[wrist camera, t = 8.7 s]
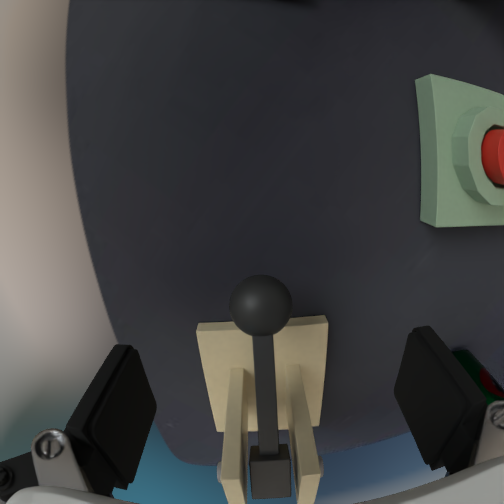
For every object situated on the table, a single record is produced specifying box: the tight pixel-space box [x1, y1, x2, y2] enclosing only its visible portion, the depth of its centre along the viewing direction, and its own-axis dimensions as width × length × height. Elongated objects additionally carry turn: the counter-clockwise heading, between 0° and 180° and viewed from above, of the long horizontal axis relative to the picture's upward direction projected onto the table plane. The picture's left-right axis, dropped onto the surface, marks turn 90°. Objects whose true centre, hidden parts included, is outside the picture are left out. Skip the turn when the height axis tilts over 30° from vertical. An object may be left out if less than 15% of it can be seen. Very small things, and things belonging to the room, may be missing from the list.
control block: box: [415, 74, 504, 227], centre depth 15 cm, size 10×9×4 cm
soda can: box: [452, 350, 504, 406], centre depth 17 cm, size 5×5×12 cm
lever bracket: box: [196, 315, 328, 504], centre depth 17 cm, size 11×9×11 cm
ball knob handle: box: [229, 275, 292, 499], centre depth 15 cm, size 13×3×3 cm
